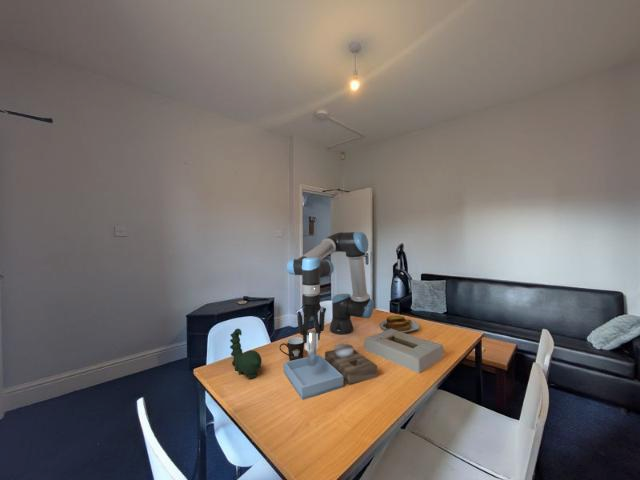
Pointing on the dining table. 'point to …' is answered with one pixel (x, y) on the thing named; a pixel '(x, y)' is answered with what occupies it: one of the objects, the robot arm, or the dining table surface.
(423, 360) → the slotted block
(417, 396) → the dining table surface
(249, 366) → the toy figurine
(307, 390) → the tray
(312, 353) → the lock pin
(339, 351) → the block
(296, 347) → the coffee mug
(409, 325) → the food on plate
